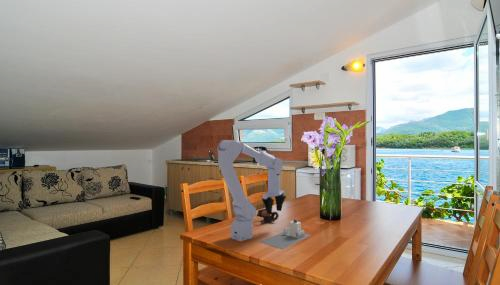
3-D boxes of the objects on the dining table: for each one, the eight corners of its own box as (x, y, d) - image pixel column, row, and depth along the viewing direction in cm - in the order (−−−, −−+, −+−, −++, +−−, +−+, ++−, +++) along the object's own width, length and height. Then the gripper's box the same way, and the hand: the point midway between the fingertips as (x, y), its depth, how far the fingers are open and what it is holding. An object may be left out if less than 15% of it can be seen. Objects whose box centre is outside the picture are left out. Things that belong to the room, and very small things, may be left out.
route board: (282, 251, 115) (282, 249, 115) (258, 244, 123) (258, 241, 123) (311, 237, 131) (311, 235, 131) (288, 231, 140) (288, 229, 139)
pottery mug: (255, 225, 151) (253, 209, 155) (261, 229, 159) (259, 214, 163) (277, 221, 147) (275, 205, 152) (282, 225, 155) (280, 210, 159)
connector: (297, 236, 129) (297, 221, 129) (289, 234, 131) (289, 219, 131) (300, 234, 131) (301, 220, 131) (293, 232, 134) (293, 218, 134)
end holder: (297, 238, 127) (297, 233, 127) (282, 235, 132) (282, 229, 132) (305, 235, 132) (305, 229, 132) (290, 231, 137) (290, 226, 137)
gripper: (271, 185, 131) (271, 216, 131) (290, 182, 141) (290, 210, 142) (259, 184, 135) (259, 213, 136) (278, 180, 146) (278, 208, 146)
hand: (274, 212), depth 139 cm, fingers open, 7 cm apart
